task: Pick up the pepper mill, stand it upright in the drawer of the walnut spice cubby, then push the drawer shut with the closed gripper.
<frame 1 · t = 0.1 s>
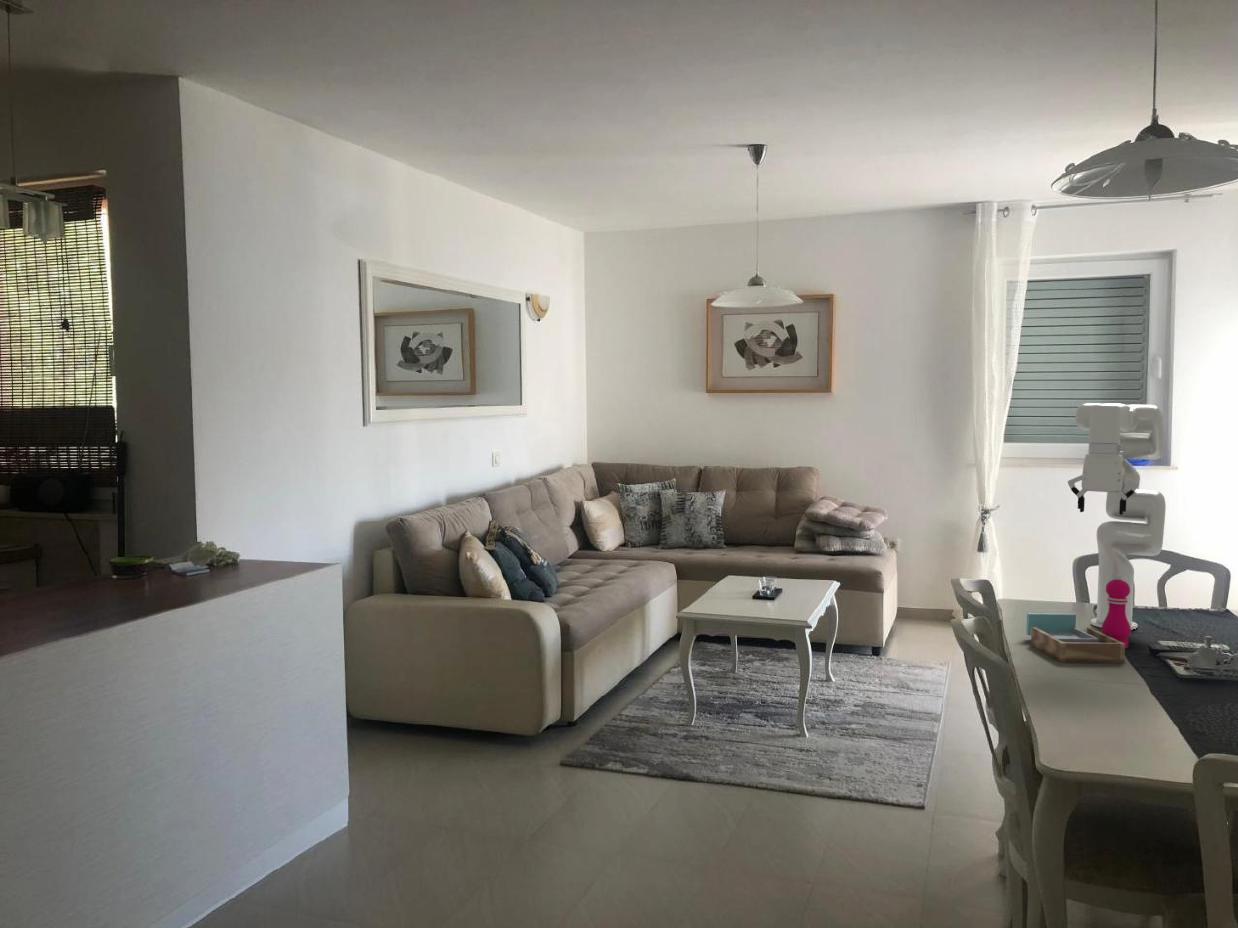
hand: (1101, 512, 268), 37 cm above the table, tool pointing down, fingers open, 9 cm apart
pepper mill: (1115, 646, 272), on the table
cubby: (1077, 654, 262), on the table
drawer: (1062, 630, 271), point 4 cm above the table, slide at 8.0 cm
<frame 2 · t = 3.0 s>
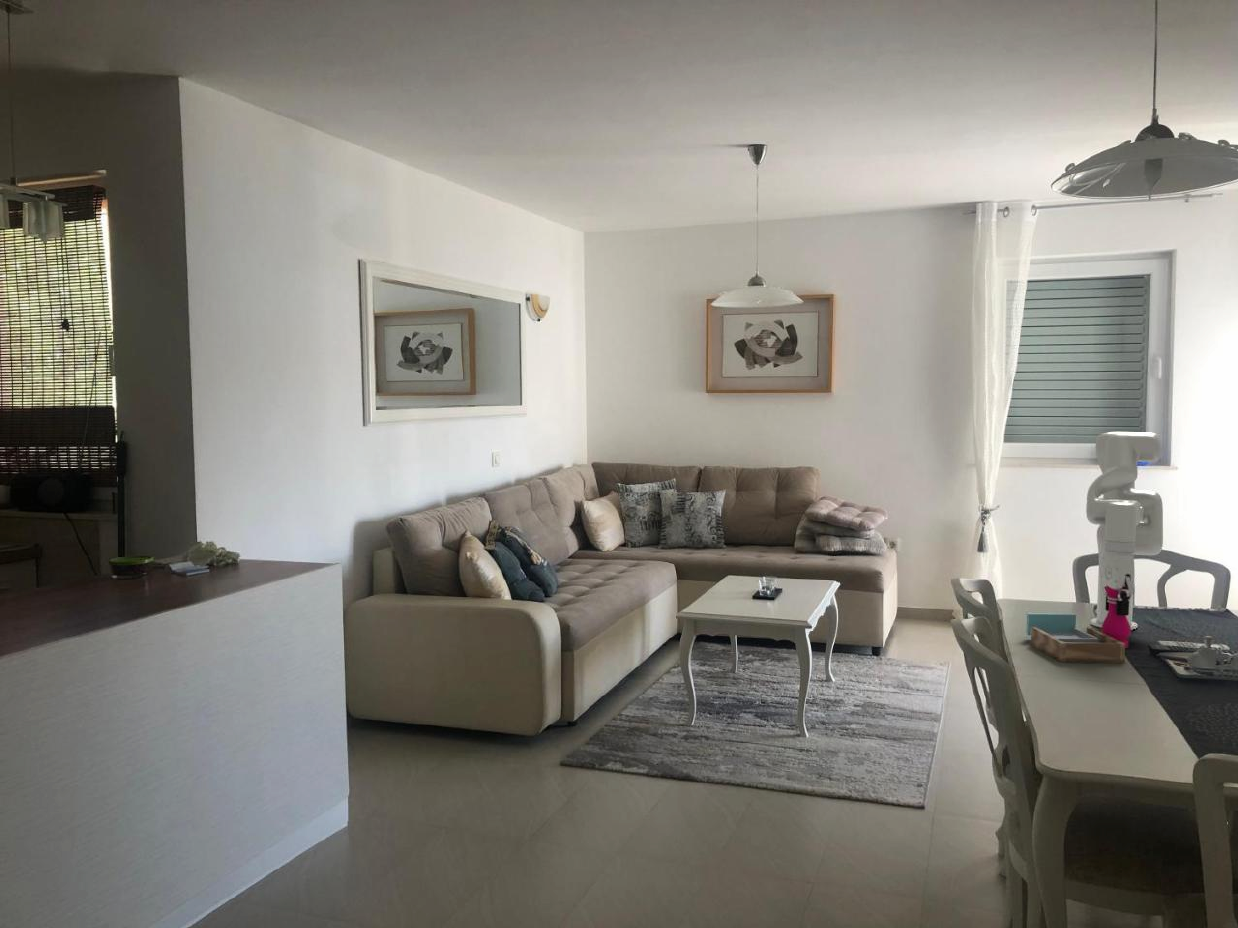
hand: (1116, 612, 271), 9 cm above the table, tool pointing down, fingers closed on pepper mill, 5 cm apart
pepper mill: (1115, 646, 272), on the table, touching gripper
everything else where it was.
when the fingers open (13 cm above the table, at t = 9.4 s): pepper mill stays where it is, resting on drawer.
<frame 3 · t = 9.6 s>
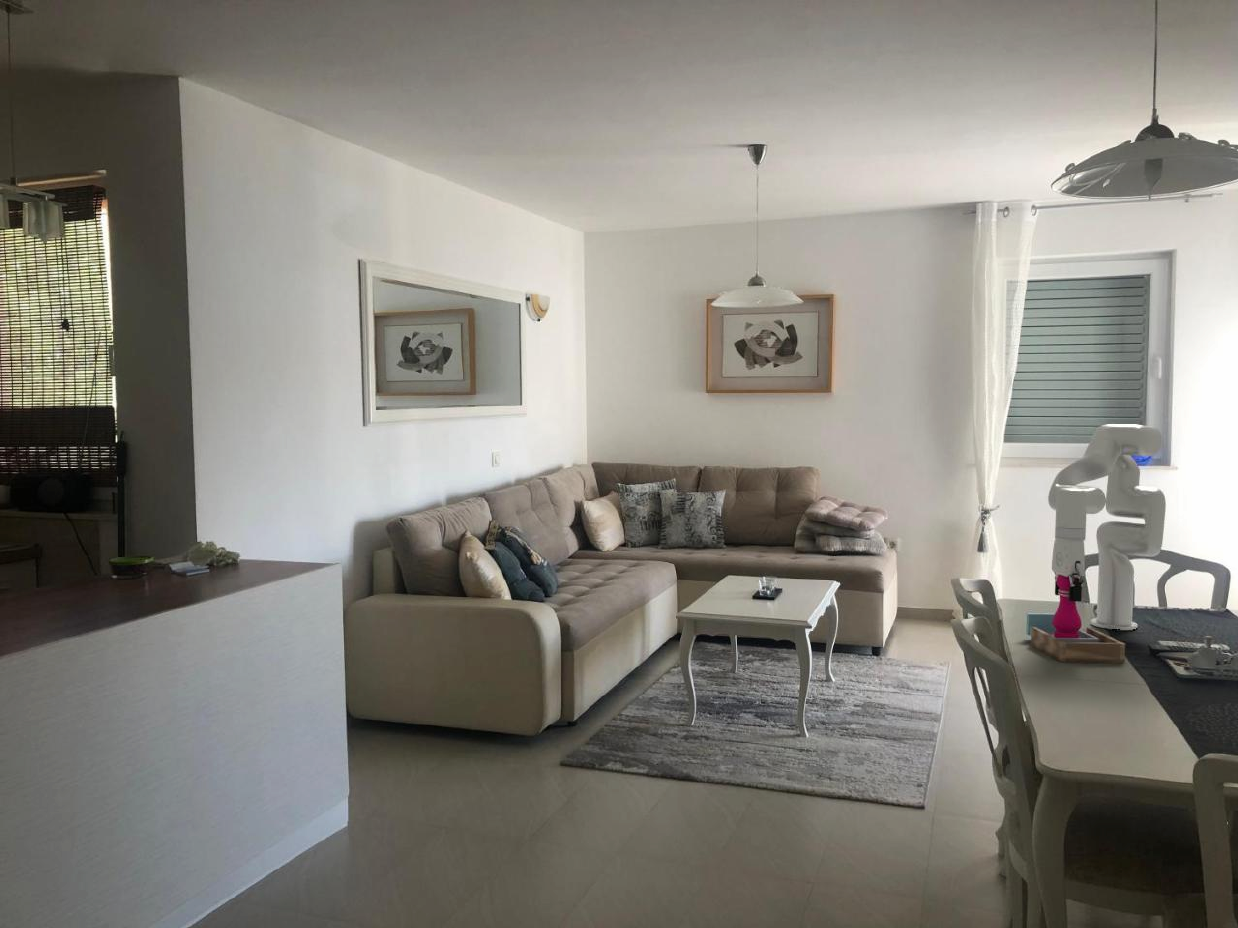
hand: (1067, 597, 268), 14 cm above the table, tool pointing down, fingers open, 7 cm apart
pepper mill: (1066, 639, 269), point 2 cm above the table, touching drawer
drawer: (1062, 630, 271), point 4 cm above the table, slide at 8.0 cm, touching pepper mill
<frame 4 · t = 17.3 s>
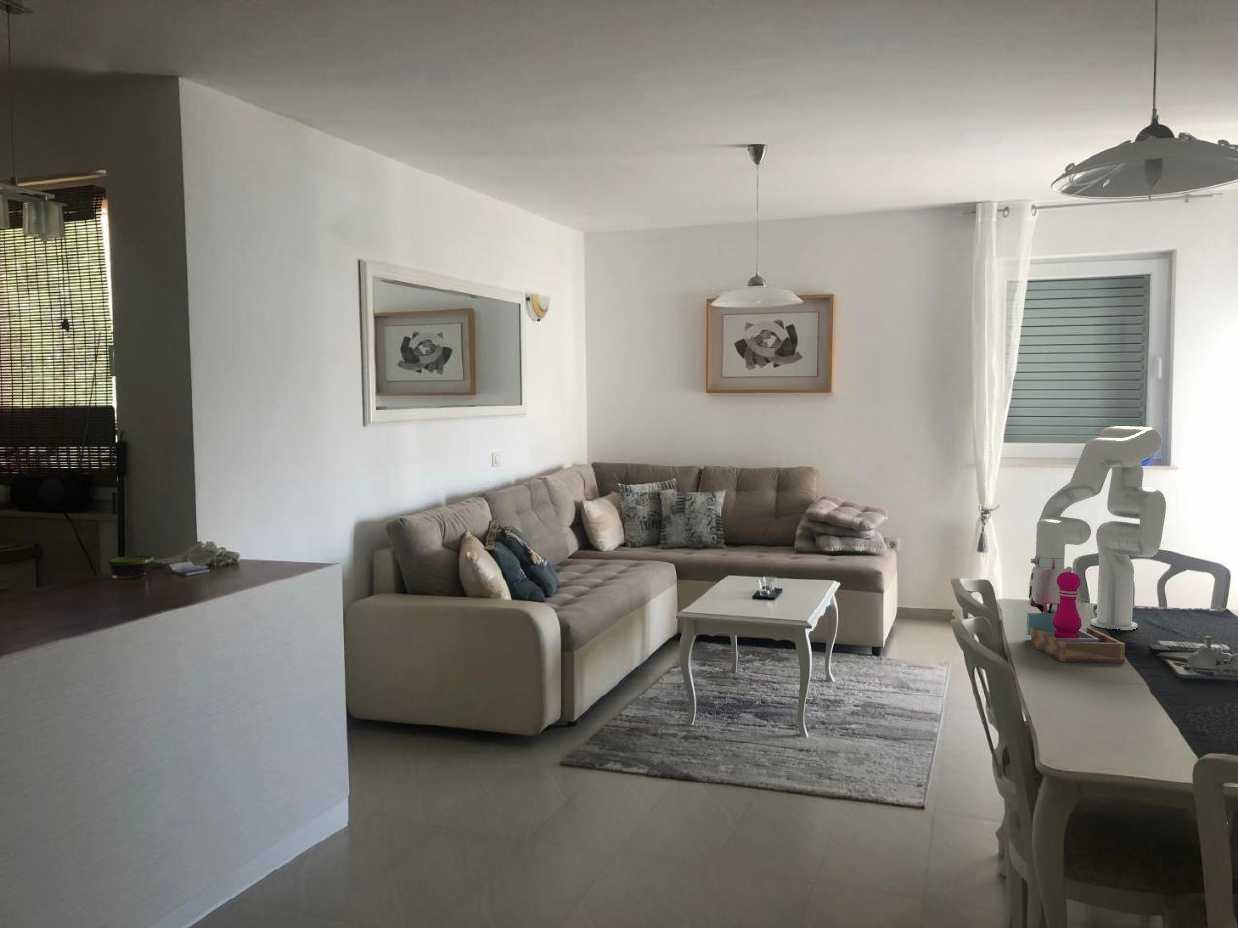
hand: (1047, 626, 281), 3 cm above the table, tool pointing down, fingers closed
drawer: (1062, 630, 271), point 4 cm above the table, slide at 7.9 cm, touching gripper, pepper mill
everything else where it was.
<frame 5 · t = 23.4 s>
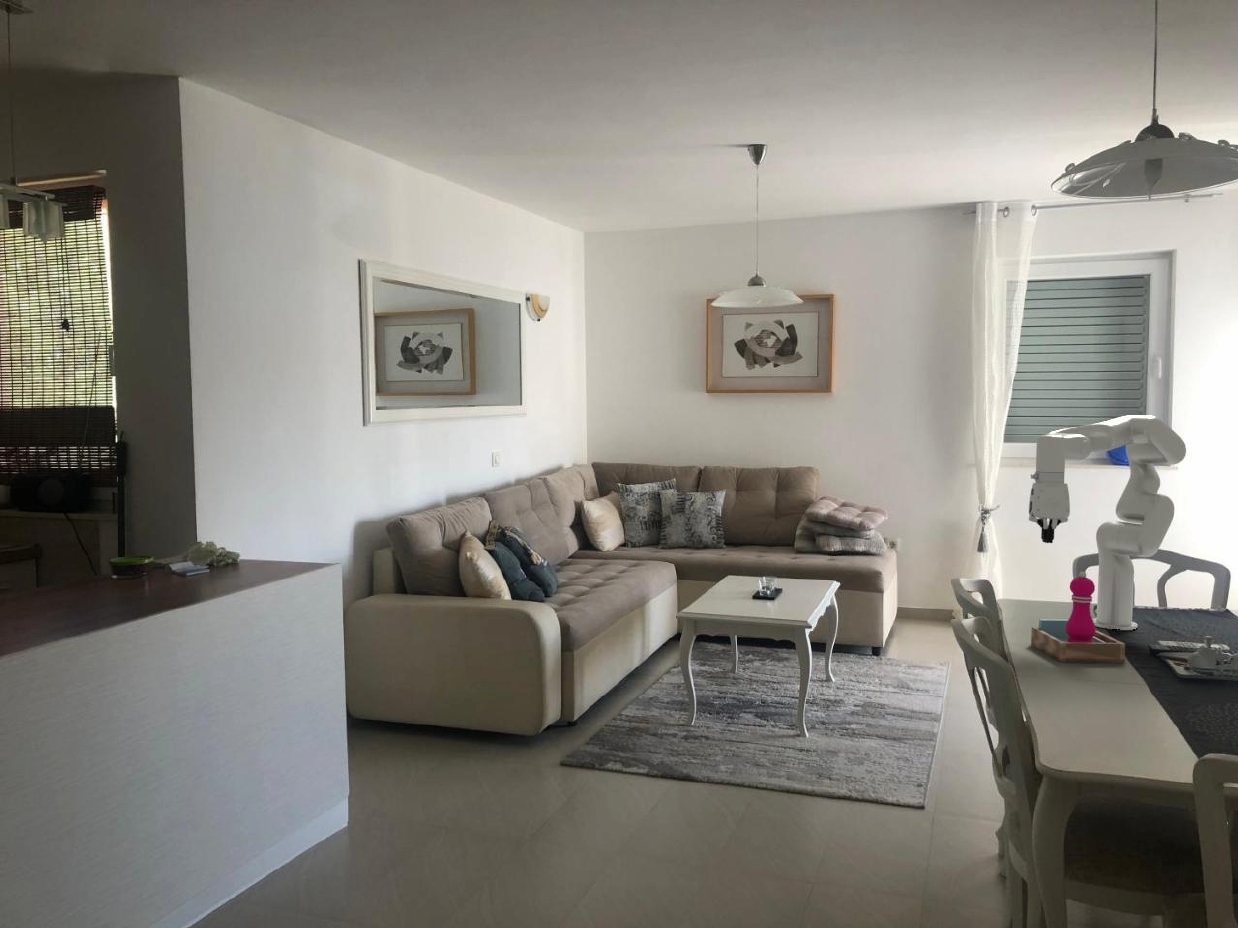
hand: (1047, 542, 281), 27 cm above the table, tool pointing down, fingers closed
pepper mill: (1079, 647, 261), point 2 cm above the table, touching drawer
drawer: (1076, 637, 263), point 4 cm above the table, slide at 0.0 cm, touching pepper mill
at the end: drawer slide at 0.0 cm; pepper mill inside the target area on the cubby (1.6 cm from its centre), point 2.2 cm above the cubby's base; pepper mill tilted 0° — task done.
